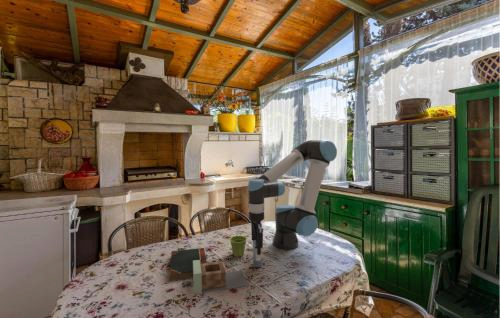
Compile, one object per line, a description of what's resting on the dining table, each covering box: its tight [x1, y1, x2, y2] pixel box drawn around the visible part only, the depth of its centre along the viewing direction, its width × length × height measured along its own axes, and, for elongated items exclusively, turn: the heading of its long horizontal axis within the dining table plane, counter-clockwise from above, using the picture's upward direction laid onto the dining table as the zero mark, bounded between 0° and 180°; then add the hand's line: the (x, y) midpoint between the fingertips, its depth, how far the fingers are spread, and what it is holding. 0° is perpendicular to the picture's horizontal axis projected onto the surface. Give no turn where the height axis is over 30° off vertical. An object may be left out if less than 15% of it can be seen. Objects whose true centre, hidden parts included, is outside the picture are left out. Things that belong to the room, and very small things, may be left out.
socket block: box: [200, 260, 226, 289], centre depth 108 cm, size 10×10×6 cm
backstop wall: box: [192, 260, 202, 294], centre depth 106 cm, size 3×12×8 cm, turn 15°
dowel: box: [252, 240, 262, 268], centre depth 122 cm, size 4×4×12 cm
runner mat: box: [201, 270, 249, 294], centre depth 109 cm, size 20×13×1 cm, turn 105°
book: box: [168, 247, 208, 281], centre depth 123 cm, size 17×4×25 cm
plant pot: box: [228, 235, 248, 258], centre depth 135 cm, size 9×9×9 cm
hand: (257, 258), depth 122 cm, fingers closed on dowel, 4 cm apart
